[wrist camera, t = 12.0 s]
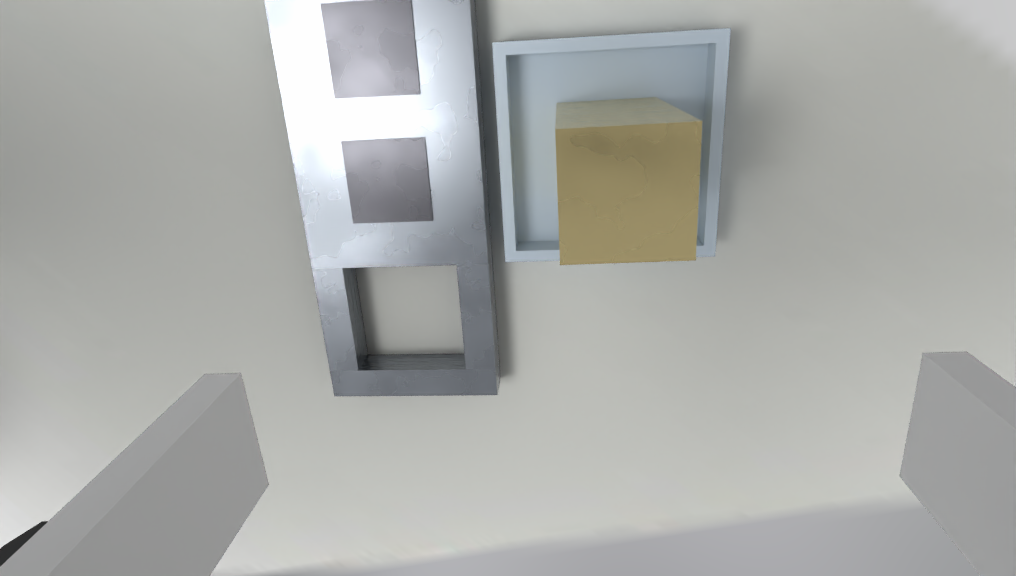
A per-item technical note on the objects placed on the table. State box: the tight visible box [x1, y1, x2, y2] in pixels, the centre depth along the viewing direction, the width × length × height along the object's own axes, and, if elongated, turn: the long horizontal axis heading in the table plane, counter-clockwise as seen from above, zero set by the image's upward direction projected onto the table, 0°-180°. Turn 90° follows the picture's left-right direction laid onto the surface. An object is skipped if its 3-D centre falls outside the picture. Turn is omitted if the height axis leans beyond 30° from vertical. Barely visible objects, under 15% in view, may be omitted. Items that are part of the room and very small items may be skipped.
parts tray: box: [492, 28, 731, 262], centre depth 32 cm, size 11×11×2 cm
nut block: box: [555, 97, 702, 265], centre depth 27 cm, size 5×5×11 cm
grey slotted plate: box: [264, 0, 500, 396], centre depth 34 cm, size 10×22×2 cm, turn 3°
